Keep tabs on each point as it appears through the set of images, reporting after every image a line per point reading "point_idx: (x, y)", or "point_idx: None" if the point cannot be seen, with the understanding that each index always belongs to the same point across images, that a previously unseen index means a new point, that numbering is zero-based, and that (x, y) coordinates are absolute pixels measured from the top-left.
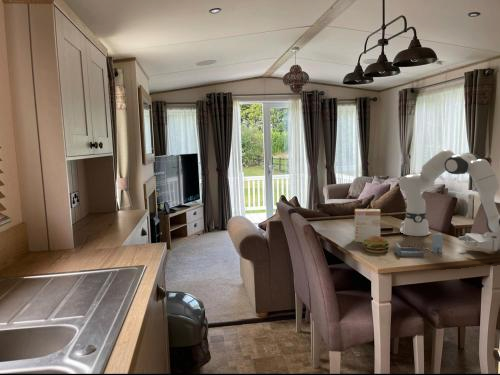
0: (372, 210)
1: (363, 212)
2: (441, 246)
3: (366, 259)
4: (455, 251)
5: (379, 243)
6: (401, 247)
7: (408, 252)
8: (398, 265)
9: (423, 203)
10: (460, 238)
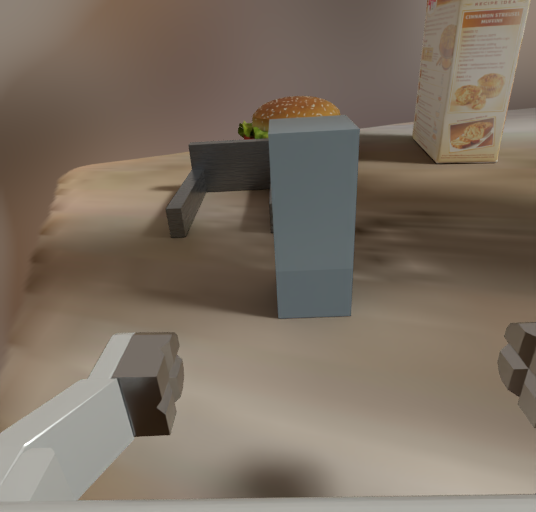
0: None
1: None
2: (275, 257)
3: (174, 154)
4: (377, 441)
5: (252, 122)
6: None
7: (185, 181)
8: (74, 187)
9: None
10: (517, 357)
